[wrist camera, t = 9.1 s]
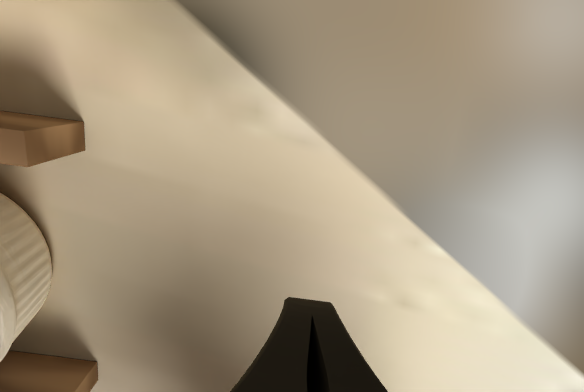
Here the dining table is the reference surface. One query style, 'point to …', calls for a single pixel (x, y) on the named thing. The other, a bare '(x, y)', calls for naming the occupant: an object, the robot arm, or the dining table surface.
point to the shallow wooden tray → (27, 152)
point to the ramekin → (20, 271)
